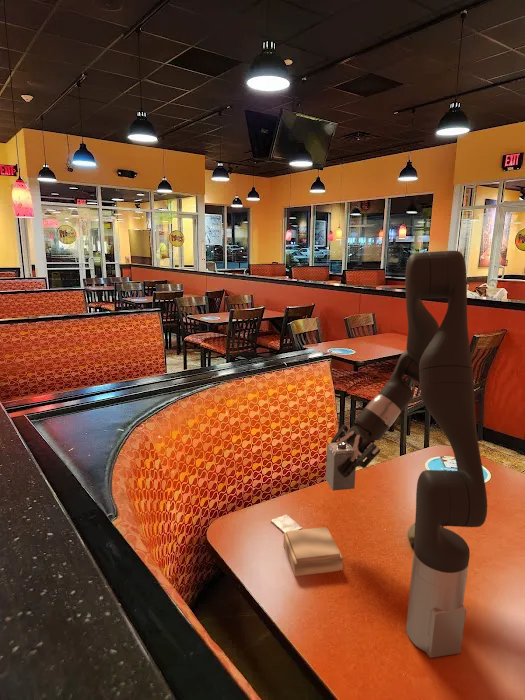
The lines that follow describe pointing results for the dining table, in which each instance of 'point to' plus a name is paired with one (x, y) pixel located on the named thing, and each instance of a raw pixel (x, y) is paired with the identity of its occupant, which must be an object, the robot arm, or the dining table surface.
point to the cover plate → (285, 524)
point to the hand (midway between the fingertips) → (334, 468)
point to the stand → (312, 551)
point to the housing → (339, 466)
